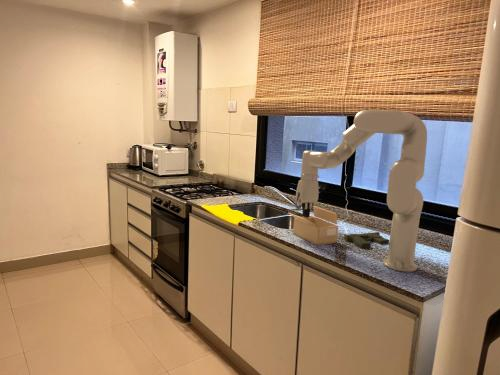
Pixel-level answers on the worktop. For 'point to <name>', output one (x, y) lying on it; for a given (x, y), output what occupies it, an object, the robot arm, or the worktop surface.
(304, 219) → the front flap
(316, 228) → the carton
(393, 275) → the worktop surface
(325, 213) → the back flap
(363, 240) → the firearm
